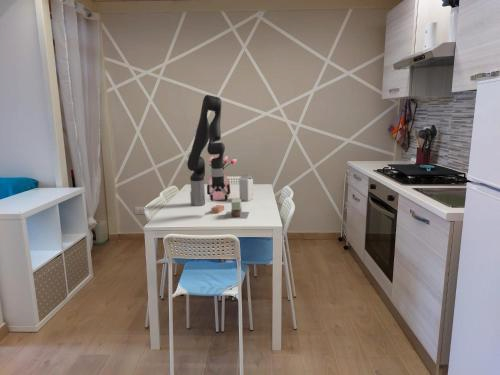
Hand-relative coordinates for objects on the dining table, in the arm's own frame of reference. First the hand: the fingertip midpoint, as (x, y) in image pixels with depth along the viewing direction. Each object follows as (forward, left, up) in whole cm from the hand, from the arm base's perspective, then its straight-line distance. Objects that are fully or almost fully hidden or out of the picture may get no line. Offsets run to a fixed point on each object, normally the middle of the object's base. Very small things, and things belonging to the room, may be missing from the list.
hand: (219, 200), depth 228 cm
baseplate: (+12, -8, -8) cm, 17 cm away
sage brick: (+12, -8, -2) cm, 15 cm away
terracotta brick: (-1, 0, -8) cm, 8 cm away
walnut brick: (+12, -8, -7) cm, 16 cm away
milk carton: (+13, +36, -8) cm, 39 cm away
